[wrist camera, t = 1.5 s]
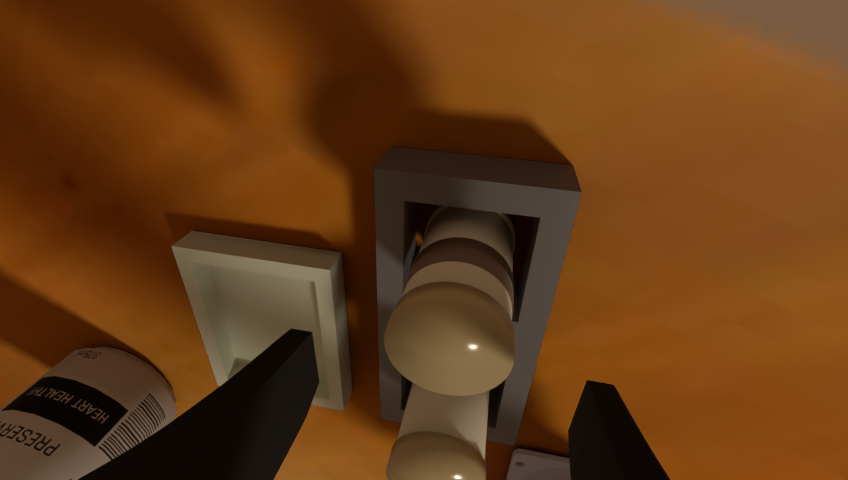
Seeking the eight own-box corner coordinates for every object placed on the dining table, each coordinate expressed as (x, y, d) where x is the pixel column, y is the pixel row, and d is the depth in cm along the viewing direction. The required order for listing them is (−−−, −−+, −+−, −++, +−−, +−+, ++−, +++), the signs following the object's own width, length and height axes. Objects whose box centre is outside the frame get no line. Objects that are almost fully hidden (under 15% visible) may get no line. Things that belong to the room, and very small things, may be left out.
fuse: (489, 379, 22) (479, 519, 16) (420, 366, 23) (386, 497, 17) (498, 326, 20) (491, 464, 14) (423, 314, 21) (385, 442, 15)
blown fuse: (508, 274, 18) (504, 405, 12) (426, 262, 19) (384, 383, 13) (522, 198, 16) (525, 311, 11) (430, 187, 17) (383, 289, 11)
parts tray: (352, 390, 25) (343, 411, 24) (232, 366, 26) (217, 385, 25) (341, 252, 20) (329, 270, 18) (192, 230, 21) (171, 245, 19)
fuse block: (514, 404, 23) (514, 446, 21) (392, 381, 24) (380, 418, 22) (572, 164, 15) (581, 192, 13) (392, 146, 16) (373, 168, 14)
